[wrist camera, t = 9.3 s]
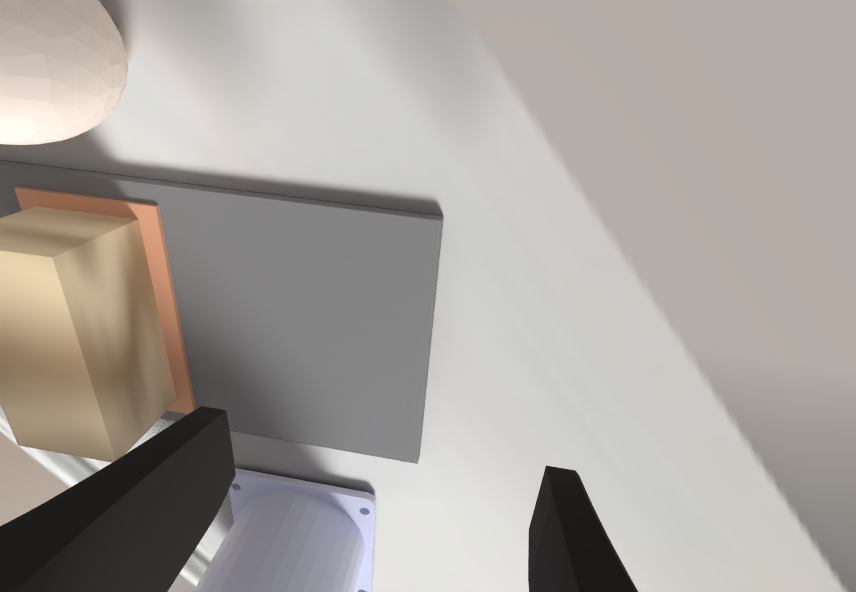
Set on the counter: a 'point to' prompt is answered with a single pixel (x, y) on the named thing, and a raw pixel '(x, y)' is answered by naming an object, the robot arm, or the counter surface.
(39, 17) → the egg
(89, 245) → the tan wooden block
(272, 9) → the counter surface
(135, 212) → the terracotta strip
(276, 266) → the rubber mat
